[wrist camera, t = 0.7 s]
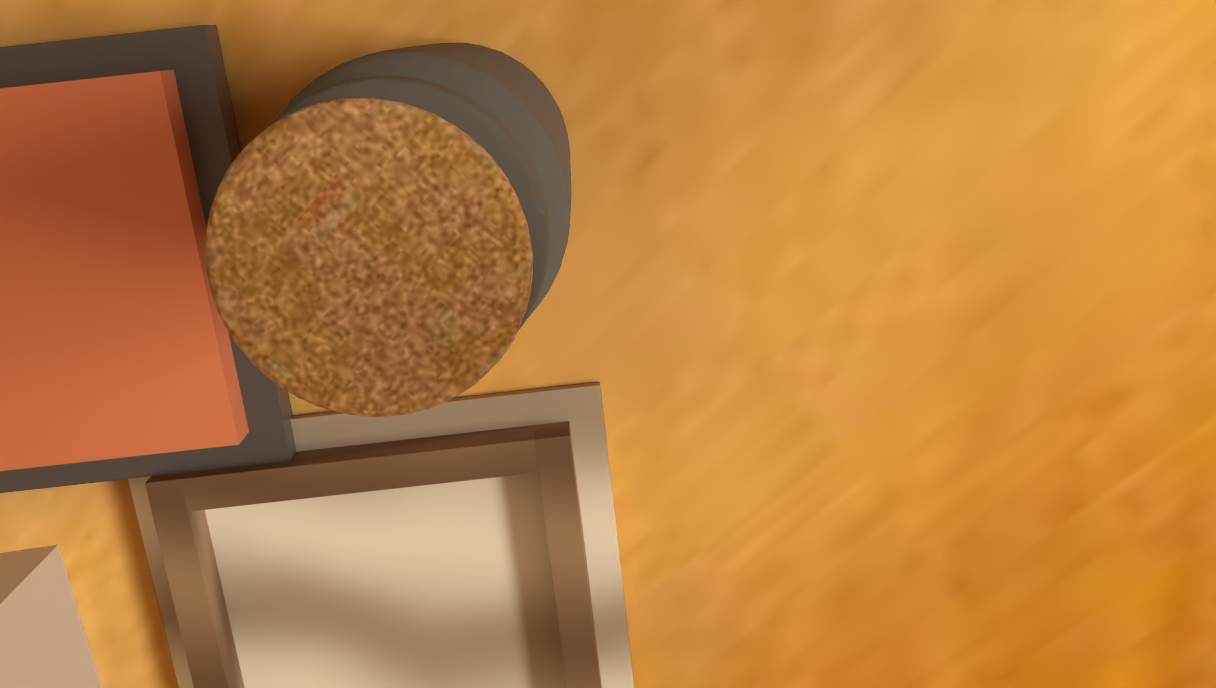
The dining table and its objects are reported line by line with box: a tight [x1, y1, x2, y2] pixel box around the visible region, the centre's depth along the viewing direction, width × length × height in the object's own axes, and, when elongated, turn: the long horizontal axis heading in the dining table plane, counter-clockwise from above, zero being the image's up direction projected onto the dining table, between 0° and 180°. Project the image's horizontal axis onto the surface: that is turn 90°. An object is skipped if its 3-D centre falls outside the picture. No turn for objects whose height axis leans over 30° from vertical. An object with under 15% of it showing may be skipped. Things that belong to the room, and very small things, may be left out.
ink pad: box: [0, 25, 297, 493], centre depth 30 cm, size 12×12×2 cm
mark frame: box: [128, 382, 634, 688], centre depth 33 cm, size 14×14×2 cm
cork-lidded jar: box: [205, 43, 571, 417], centre depth 23 cm, size 6×6×15 cm
